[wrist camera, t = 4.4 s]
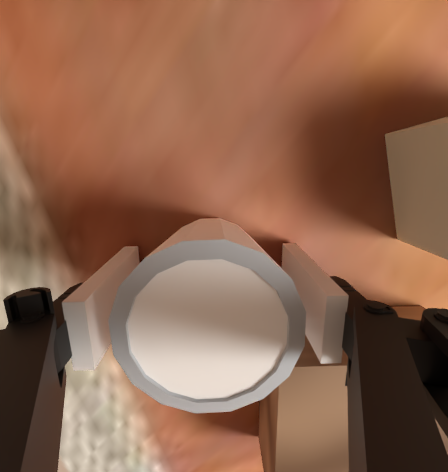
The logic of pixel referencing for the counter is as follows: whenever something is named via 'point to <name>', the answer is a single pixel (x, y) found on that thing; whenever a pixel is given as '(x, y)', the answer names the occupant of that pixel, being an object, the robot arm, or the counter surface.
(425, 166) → the sage block
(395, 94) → the counter surface
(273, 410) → the walnut block
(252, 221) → the counter surface
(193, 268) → the shot glass
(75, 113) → the counter surface
